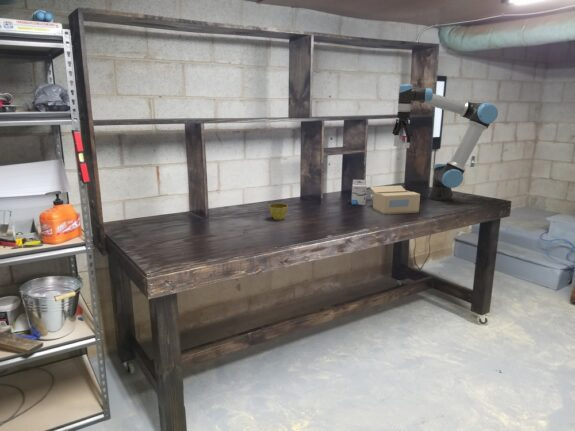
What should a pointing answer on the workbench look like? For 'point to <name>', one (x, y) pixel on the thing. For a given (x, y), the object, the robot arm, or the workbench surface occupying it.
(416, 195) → the carton
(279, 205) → the flower pot
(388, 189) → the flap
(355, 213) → the workbench surface
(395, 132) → the robot arm
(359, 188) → the ink box
